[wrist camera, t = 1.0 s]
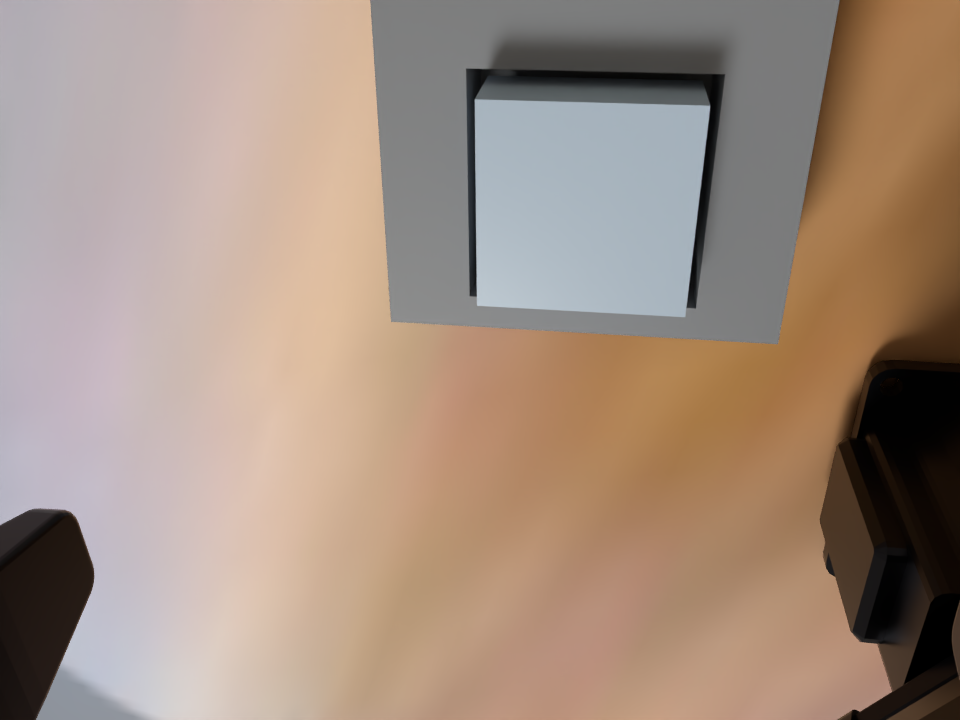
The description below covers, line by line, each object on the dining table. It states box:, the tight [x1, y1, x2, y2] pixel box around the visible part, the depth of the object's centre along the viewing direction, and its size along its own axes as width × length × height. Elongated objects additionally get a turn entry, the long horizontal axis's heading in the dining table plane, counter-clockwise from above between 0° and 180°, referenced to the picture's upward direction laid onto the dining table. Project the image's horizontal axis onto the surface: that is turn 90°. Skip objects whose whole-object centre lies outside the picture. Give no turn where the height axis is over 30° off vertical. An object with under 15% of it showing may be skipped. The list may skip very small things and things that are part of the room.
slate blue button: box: [475, 76, 710, 317], centre depth 17 cm, size 4×4×2 cm
